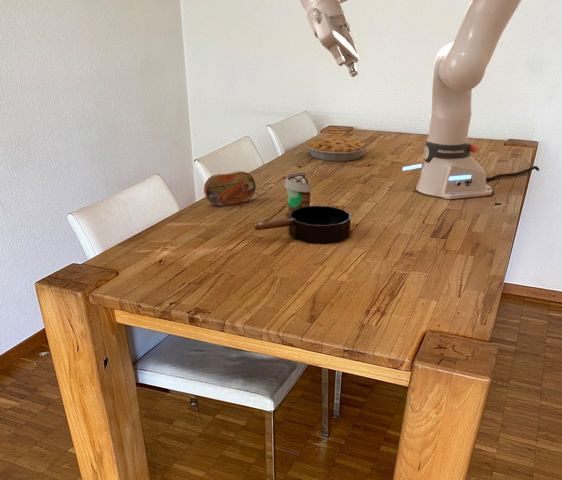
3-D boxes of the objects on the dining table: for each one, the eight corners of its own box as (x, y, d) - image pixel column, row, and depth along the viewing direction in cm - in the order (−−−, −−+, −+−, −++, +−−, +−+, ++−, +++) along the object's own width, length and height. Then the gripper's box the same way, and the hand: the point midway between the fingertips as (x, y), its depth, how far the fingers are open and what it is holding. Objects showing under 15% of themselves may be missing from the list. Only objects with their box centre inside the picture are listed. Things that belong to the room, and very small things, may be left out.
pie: (376, 152, 218) (377, 138, 215) (349, 165, 202) (350, 150, 199) (325, 145, 227) (325, 131, 225) (295, 156, 212) (296, 142, 209)
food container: (282, 208, 163) (282, 171, 157) (304, 207, 163) (305, 171, 157) (286, 223, 152) (286, 184, 147) (309, 222, 153) (310, 184, 147)
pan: (332, 219, 155) (333, 202, 152) (360, 238, 143) (361, 220, 141) (244, 232, 147) (243, 213, 144) (265, 253, 135) (265, 233, 133)
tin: (207, 208, 163) (205, 177, 158) (203, 205, 165) (201, 174, 160) (256, 200, 168) (255, 170, 164) (251, 197, 171) (251, 168, 166)
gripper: (322, -4, 140) (344, 48, 140) (351, 27, 158) (371, 73, 158) (301, 13, 143) (322, 64, 143) (331, 42, 161) (351, 87, 161)
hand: (348, 69), depth 151 cm, fingers open, 8 cm apart
